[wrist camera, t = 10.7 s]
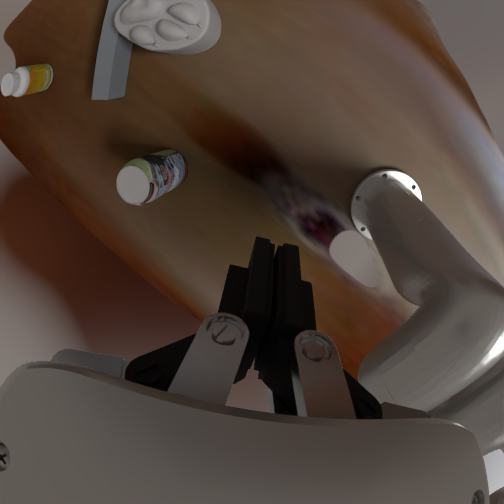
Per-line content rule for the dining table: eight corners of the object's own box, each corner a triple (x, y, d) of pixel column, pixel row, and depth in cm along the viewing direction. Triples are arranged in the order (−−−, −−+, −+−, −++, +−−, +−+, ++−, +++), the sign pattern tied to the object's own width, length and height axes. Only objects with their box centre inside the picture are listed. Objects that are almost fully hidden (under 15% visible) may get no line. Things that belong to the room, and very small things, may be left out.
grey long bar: (154, -38, 23) (141, -48, 18) (124, 96, 36) (107, 99, 32) (137, -36, 23) (123, -44, 18) (109, 96, 36) (91, 99, 32)
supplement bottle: (56, 63, 32) (17, 67, 24) (51, 91, 35) (13, 100, 27) (37, 63, 31) (0, 69, 23) (33, 90, 34) (-3, 100, 26)
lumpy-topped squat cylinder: (170, -20, 25) (147, -37, 18) (239, 17, 29) (229, 1, 22) (129, 32, 30) (98, 26, 23) (192, 70, 34) (171, 68, 27)
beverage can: (176, 191, 45) (147, 226, 35) (141, 164, 42) (103, 193, 32) (198, 162, 42) (172, 191, 32) (162, 134, 39) (124, 154, 29)
